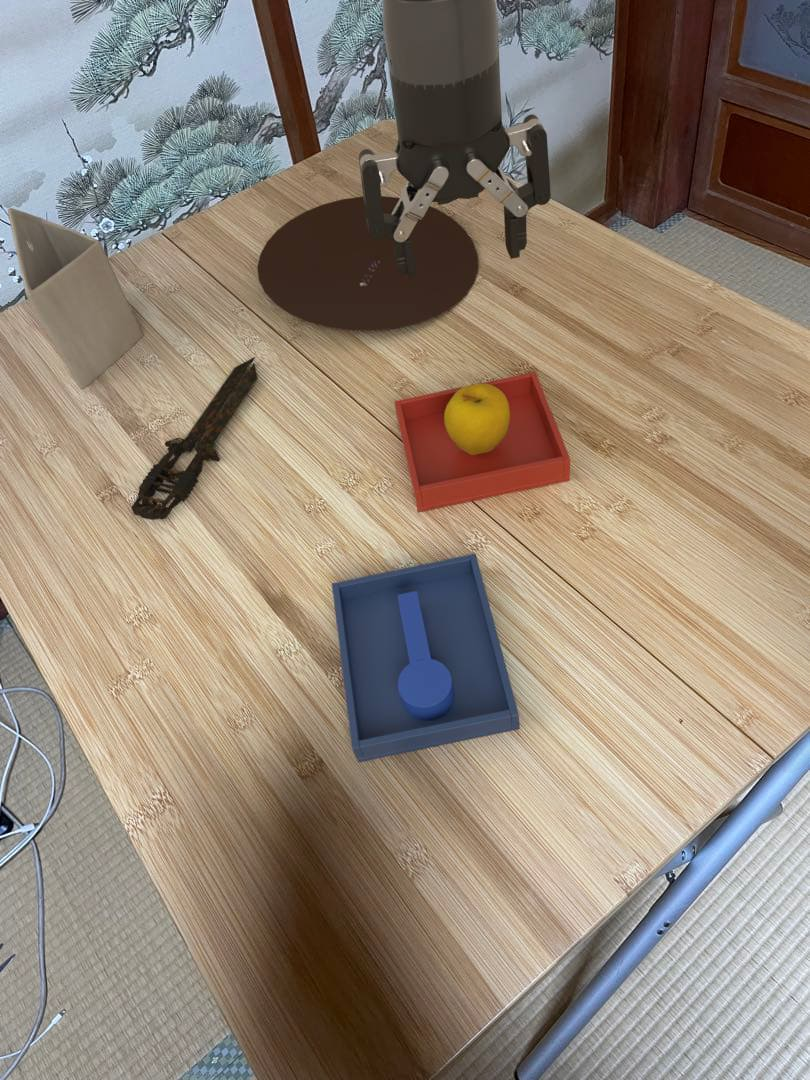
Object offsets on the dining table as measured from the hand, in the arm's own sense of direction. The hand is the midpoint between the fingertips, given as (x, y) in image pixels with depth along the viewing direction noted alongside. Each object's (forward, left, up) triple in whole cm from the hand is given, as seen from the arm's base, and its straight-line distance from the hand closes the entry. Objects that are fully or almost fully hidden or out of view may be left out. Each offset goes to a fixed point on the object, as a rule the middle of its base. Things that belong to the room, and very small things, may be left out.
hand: (462, 263), depth 69 cm
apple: (0, 0, -22) cm, 22 cm away
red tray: (0, 0, -22) cm, 22 cm away
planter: (+41, -32, -22) cm, 57 cm away
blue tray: (+10, +23, -22) cm, 33 cm away
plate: (+7, -35, -22) cm, 42 cm away
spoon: (+10, +23, -22) cm, 33 cm away
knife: (+29, -11, -22) cm, 38 cm away
